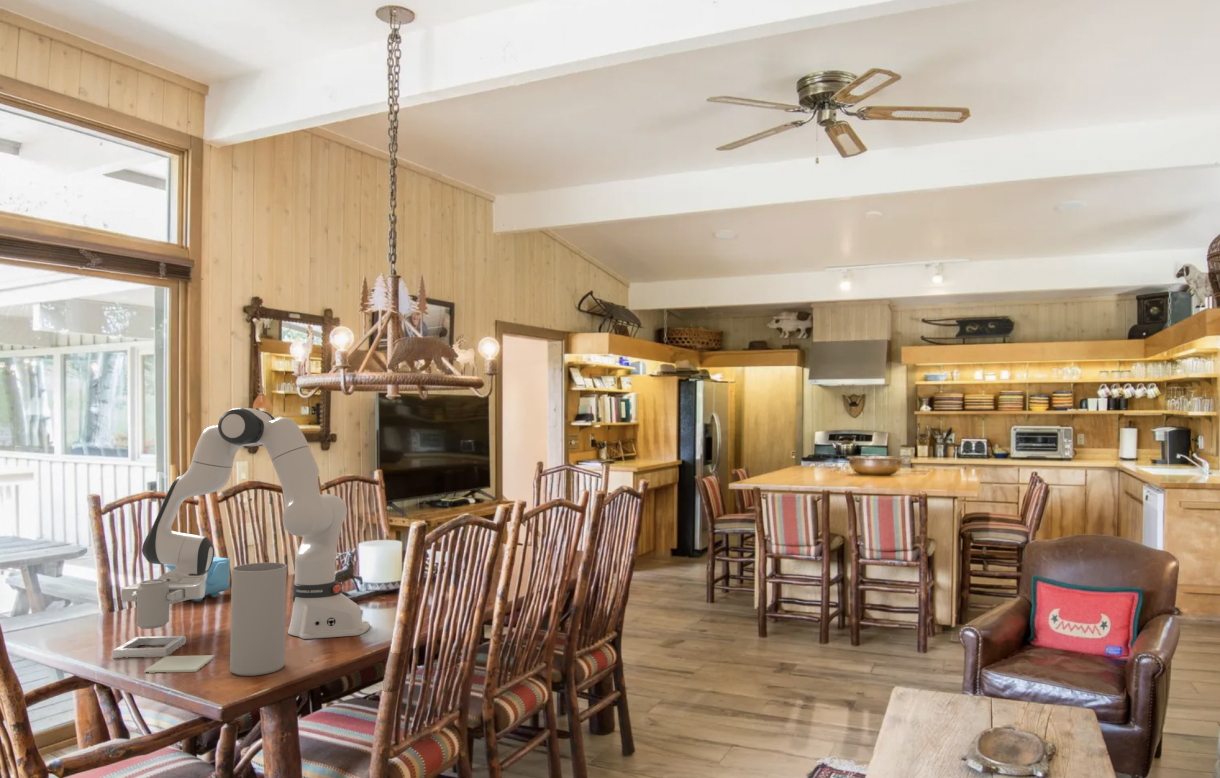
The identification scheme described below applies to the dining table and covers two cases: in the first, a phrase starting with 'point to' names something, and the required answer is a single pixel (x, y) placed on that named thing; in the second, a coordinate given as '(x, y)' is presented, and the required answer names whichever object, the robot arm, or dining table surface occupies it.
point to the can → (152, 604)
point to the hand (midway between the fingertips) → (151, 597)
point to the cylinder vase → (258, 618)
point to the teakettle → (215, 577)
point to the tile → (180, 663)
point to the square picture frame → (132, 651)
